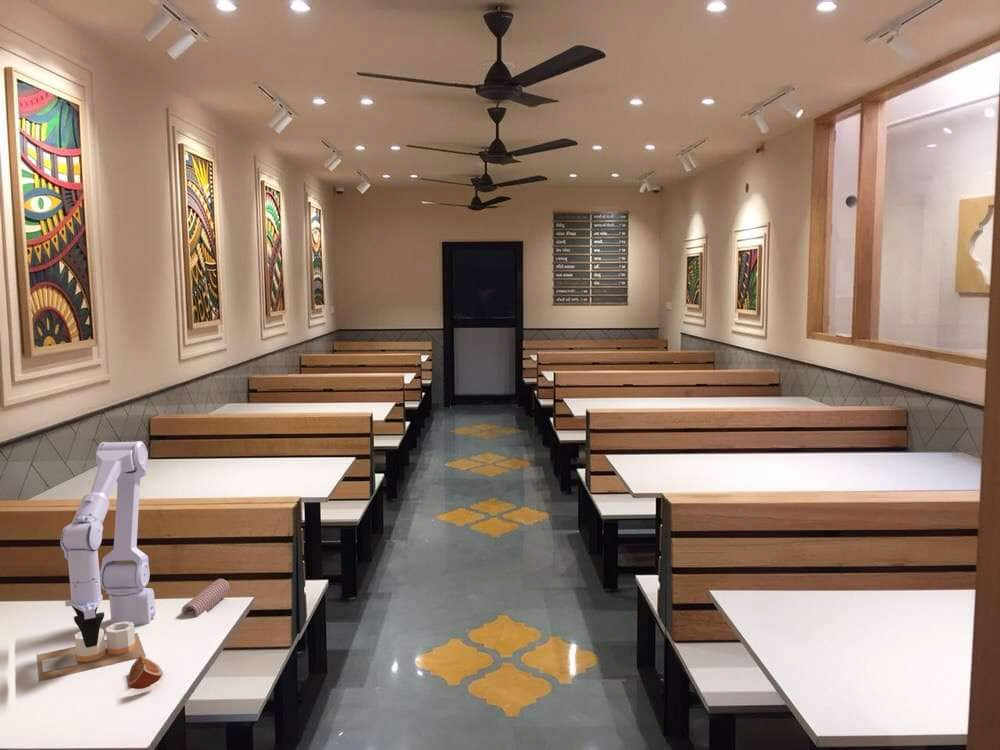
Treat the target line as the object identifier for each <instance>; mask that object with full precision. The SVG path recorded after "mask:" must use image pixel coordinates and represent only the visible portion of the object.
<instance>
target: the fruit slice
mask: <svg viewBox="0 0 1000 750" xmlns="http://www.w3.org/2000/svg"><path fill="white" fill-rule="evenodd" d="M163 675H164V673H163V670H162V669H161V667H160V666H159V665H158V664H157V663H156V662H154V661H152V660H151V659H149V658H147V657H144V656H141V655H140V656H139V658H138V659H135V661H134V663H133V664H132V665H131V667H130V669H129V672H128V675H127V679H126V681H127V686H128V687H131V689H133V690H143V689H146V688H148V687H151V686H152V685H154V684H155V683H156V682H157V681H158V680H159V679H160V678H161V677H162V676H163Z"/></svg>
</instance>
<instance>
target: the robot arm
mask: <svg viewBox="0 0 1000 750" xmlns="http://www.w3.org/2000/svg"><path fill="white" fill-rule="evenodd" d="M148 456H149V453H148V450H147V446H146V445H145V443H144V442H143V441H142V440H139V441H138V440H137V441H113V442H112V441H111V442H109V441H108V442H107V441H102V442H100V443H99V445H98V446H97V447H96V451H95V462H96V466H97V471H96V474H95V476H94V477H95V478H94V481H93V484H92V487H91V490H90V493H88V494H85V495H83V497H82V498H81V501H80V503H79V505H78V508H77V509H76V513H75V515H74V516H73V519H72V522H71V523H69V524H68V525H65V526H64V528H63V529H62V531H61V534H60V541H59V543H60V547H61V549H62V551H63V554H64V559H65V560H67V563H68V564H67V565H68V575H69V586H70V598H71V599H67V600H65V602H64V603H65V607H71V608H72V610H74V611H75V613H76V615H75V616H73V621H74V623H75V625H77V627H78V628H79V632H80V631H81V633H82V637H83V640H84V644H85V646H86V648H88V647H93V646H97V643H98V636H99V629H100V628H101V625H102V622H103V620H104V617H105V612H104V611H103V612H102V611H101V612H98V613H97V611H98V608H99V605H100V604H101V602H102V601H103V594H102V590H104V591H105V594H107V595H108V597H109V608H110V622H111V623H110V625H112V624H114V623H119V622H124V621H125V622H133V624H134V626H137V625H148V624H150V622H151V621H152V620H154V619H155V617H156V602H155V601H156V600H155V591H154V589H153V588H149V587H146V586H147V585H148V584H149V581H150V576H151V575H150V574H151V573H150V565H149V556H148V555H147V554H146V553H144V552H143V551H142V550H140V549H139V548H138V547H137V545H138V543H137V542H138V541H137V540H138V530H139V529H138V528H139V523H138V522H139V507H140V492H141V491H140V490H141V479H142V478H143V477H145V476H146V475H147V471H148ZM116 483H117V486H116V503H115V521H114V522H115V523H114V536H113V537H114V539H113V549H112V550H111V551H110V552H108V553H107V554H106V555H104V556H103V558H102V559H101V561H102V562H101V567H100V563H99V550H98V549H99V548H100V546H101V544H102V540H103V531H104V525H103V523H104V521H105V518H106V515H107V514H108V510H109V508H110V501H109V499H108V497H109V495H110V493H111V492H112V489H113V488H114V486H115V484H116ZM118 561H127V562H118ZM128 561H131V562H128Z"/></svg>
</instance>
